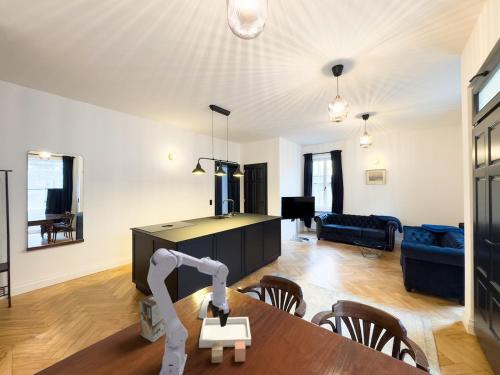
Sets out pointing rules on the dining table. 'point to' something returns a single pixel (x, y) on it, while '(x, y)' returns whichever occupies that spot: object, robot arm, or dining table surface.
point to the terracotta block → (239, 351)
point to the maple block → (217, 352)
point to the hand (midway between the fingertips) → (219, 321)
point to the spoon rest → (205, 306)
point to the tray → (225, 332)
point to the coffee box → (151, 319)
